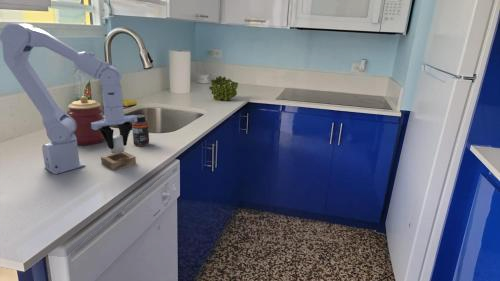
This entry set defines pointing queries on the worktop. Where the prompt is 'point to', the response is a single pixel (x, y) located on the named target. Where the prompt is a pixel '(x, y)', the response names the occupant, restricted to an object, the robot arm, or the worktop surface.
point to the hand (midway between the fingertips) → (117, 146)
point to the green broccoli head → (223, 88)
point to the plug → (118, 144)
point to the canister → (86, 120)
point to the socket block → (118, 160)
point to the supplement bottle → (140, 131)
